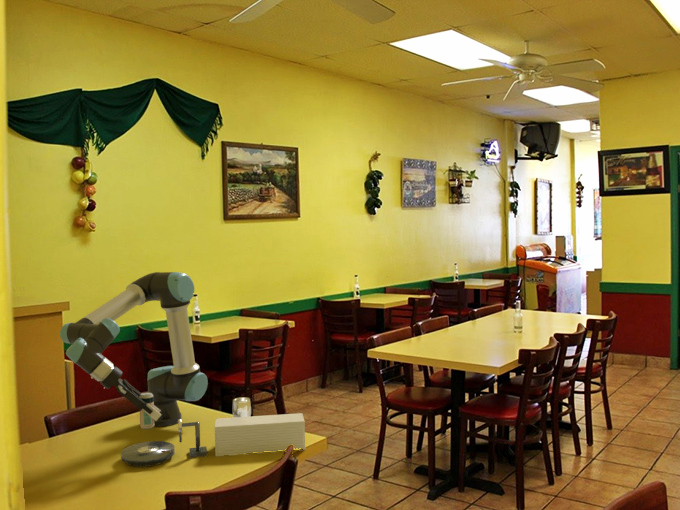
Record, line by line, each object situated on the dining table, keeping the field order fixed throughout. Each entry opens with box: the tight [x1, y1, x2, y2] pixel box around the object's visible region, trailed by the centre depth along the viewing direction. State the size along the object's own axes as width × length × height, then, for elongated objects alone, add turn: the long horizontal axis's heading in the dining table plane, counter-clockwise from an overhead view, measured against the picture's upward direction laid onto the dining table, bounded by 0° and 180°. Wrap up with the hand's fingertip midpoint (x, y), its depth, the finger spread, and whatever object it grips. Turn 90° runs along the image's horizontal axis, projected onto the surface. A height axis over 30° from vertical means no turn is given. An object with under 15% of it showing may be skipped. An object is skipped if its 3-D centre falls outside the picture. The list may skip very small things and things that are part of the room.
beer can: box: [139, 391, 155, 430], centre depth 222 cm, size 5×5×12 cm
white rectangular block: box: [214, 412, 306, 457], centre depth 232 cm, size 32×11×11 cm, turn 98°
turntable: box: [120, 440, 175, 465], centre depth 223 cm, size 18×18×2 cm
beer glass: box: [232, 396, 252, 418], centre depth 244 cm, size 7×7×15 cm
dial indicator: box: [177, 419, 208, 459], centre depth 226 cm, size 6×10×13 cm, turn 104°
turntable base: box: [127, 458, 169, 468], centre depth 223 cm, size 14×14×1 cm
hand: (158, 415), depth 224 cm, fingers closed on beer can, 5 cm apart
